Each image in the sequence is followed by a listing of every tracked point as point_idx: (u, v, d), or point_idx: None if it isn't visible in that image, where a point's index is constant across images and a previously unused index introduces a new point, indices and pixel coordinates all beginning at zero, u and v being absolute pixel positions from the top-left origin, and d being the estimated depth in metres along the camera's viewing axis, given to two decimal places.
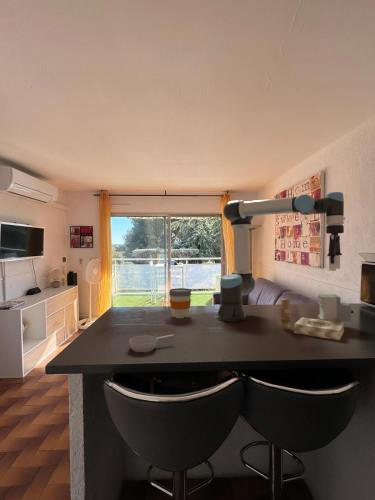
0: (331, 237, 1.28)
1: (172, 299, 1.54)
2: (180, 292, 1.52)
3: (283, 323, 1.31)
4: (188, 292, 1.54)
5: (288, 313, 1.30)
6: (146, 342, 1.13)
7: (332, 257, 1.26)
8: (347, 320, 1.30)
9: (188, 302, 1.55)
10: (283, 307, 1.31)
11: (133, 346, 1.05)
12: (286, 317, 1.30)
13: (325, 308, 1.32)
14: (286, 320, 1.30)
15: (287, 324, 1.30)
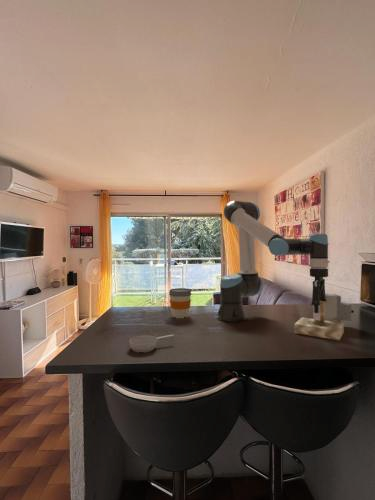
0: (314, 284, 1.21)
1: (172, 299, 1.54)
2: (180, 292, 1.52)
3: None
4: (188, 292, 1.54)
5: (322, 316, 1.24)
6: (146, 342, 1.13)
7: (316, 306, 1.20)
8: (347, 319, 1.30)
9: (188, 302, 1.55)
10: None
11: (133, 346, 1.05)
12: (320, 320, 1.24)
13: (325, 307, 1.32)
14: (320, 323, 1.24)
15: None
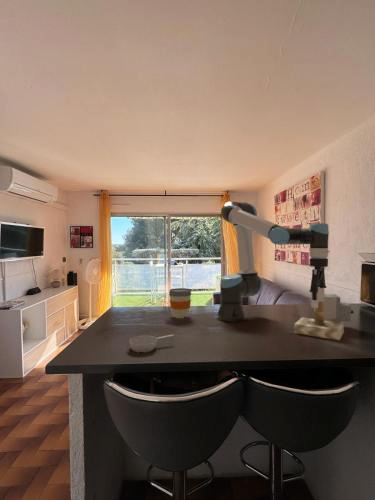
0: (314, 272, 1.21)
1: (172, 299, 1.54)
2: (180, 292, 1.52)
3: None
4: (188, 292, 1.54)
5: (322, 316, 1.24)
6: (146, 342, 1.13)
7: (314, 293, 1.19)
8: (347, 320, 1.30)
9: (188, 302, 1.55)
10: (317, 310, 1.25)
11: (133, 346, 1.05)
12: (320, 320, 1.24)
13: (325, 308, 1.32)
14: (320, 323, 1.24)
15: None
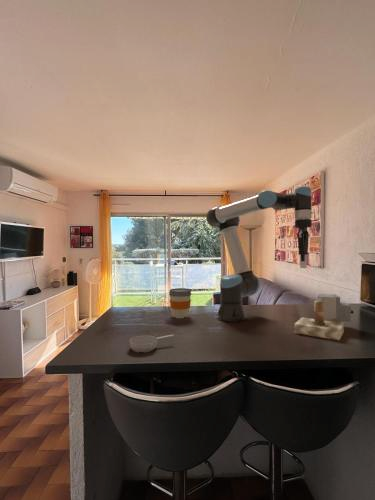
0: (299, 236, 1.31)
1: (172, 299, 1.54)
2: (180, 292, 1.52)
3: None
4: (188, 292, 1.54)
5: (322, 316, 1.24)
6: (146, 342, 1.13)
7: (302, 255, 1.34)
8: (347, 320, 1.30)
9: (188, 302, 1.55)
10: (317, 309, 1.25)
11: (133, 346, 1.05)
12: (320, 320, 1.24)
13: (325, 308, 1.32)
14: (320, 323, 1.24)
15: None
